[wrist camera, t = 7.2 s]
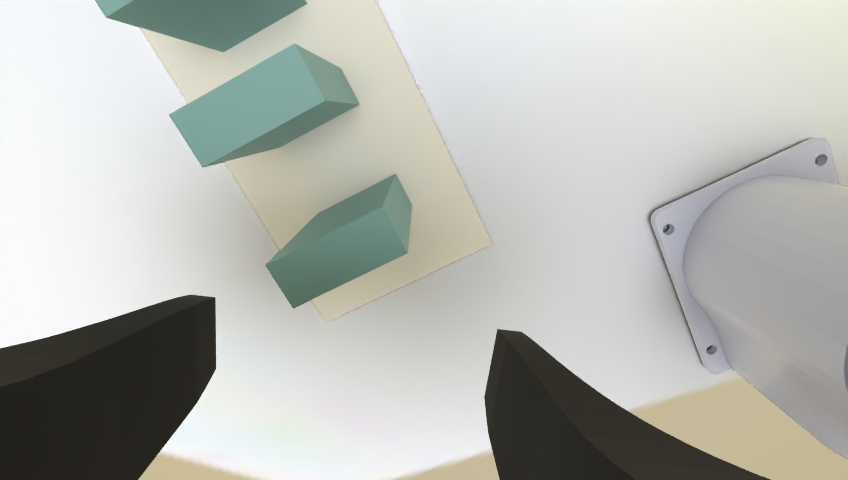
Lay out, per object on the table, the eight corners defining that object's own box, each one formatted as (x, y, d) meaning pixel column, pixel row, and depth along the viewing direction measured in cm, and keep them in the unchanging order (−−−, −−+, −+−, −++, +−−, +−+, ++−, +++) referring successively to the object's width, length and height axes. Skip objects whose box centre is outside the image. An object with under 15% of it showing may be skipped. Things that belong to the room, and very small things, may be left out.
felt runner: (491, 241, 21) (492, 243, 20) (326, 320, 22) (325, 323, 21) (158, -452, 14) (152, -463, 14) (-55, -289, 15) (-65, -297, 15)
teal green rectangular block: (412, 205, 20) (407, 253, 13) (335, 243, 20) (293, 308, 14) (395, 173, 19) (382, 206, 13) (317, 213, 20) (265, 265, 13)
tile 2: (359, 104, 19) (325, 100, 12) (279, 147, 19) (202, 167, 12) (341, 68, 18) (294, 43, 11) (259, 113, 19) (168, 114, 12)
